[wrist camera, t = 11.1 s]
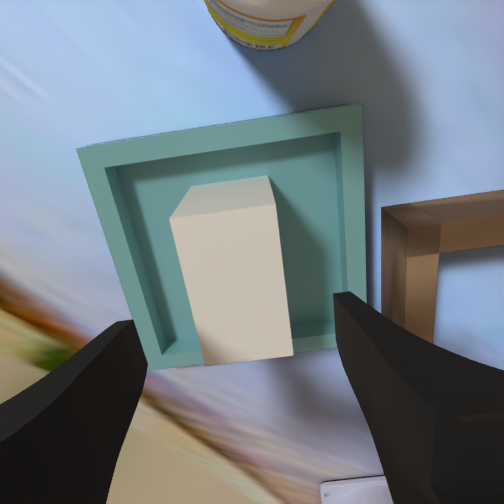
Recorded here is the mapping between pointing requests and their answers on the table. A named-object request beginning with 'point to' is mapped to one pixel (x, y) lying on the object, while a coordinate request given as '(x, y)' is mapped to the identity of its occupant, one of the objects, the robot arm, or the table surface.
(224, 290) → the cream rectangular block
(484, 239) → the bay
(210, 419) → the table surface
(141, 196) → the tray
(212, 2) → the supplement bottle
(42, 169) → the table surface
